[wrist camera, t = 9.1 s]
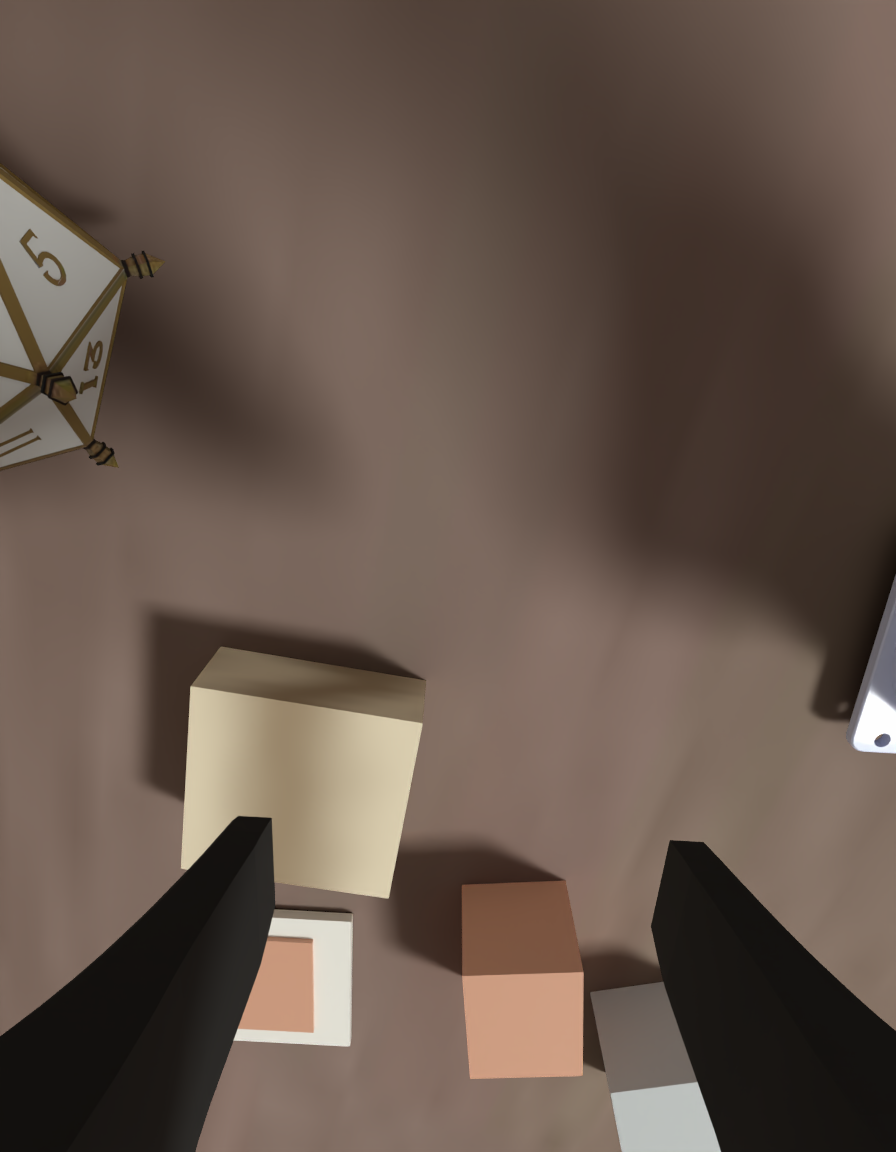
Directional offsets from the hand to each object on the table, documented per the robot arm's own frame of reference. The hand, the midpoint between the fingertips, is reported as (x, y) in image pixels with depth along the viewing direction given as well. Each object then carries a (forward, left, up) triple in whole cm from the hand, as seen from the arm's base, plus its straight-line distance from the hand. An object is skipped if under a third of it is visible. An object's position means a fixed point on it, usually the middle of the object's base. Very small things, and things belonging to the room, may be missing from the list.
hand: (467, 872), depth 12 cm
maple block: (+5, +5, -11) cm, 13 cm away
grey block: (-9, +18, -11) cm, 23 cm away
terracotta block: (-3, +13, -11) cm, 17 cm away
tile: (+7, +16, -10) cm, 20 cm away
